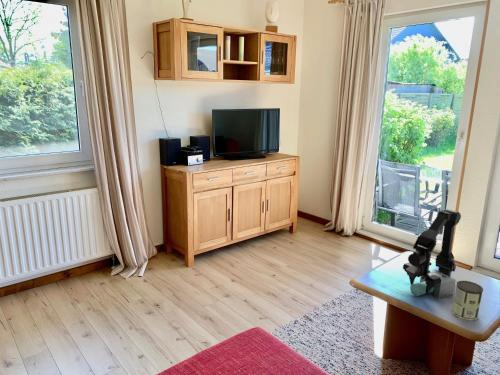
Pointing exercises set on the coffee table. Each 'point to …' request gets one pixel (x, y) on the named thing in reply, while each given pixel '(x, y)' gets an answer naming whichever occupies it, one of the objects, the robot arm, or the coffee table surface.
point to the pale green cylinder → (420, 289)
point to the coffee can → (467, 300)
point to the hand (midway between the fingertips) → (419, 289)
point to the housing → (445, 286)
